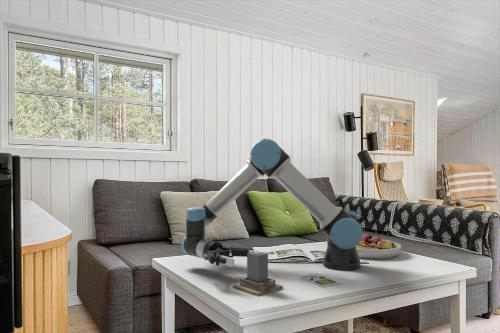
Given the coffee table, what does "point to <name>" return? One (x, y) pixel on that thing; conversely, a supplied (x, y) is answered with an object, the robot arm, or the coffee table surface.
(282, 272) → the coffee table surface
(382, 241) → the bowl
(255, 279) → the block
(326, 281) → the handheld gaming device
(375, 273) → the coffee table surface
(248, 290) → the tray
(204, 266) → the coffee table surface
